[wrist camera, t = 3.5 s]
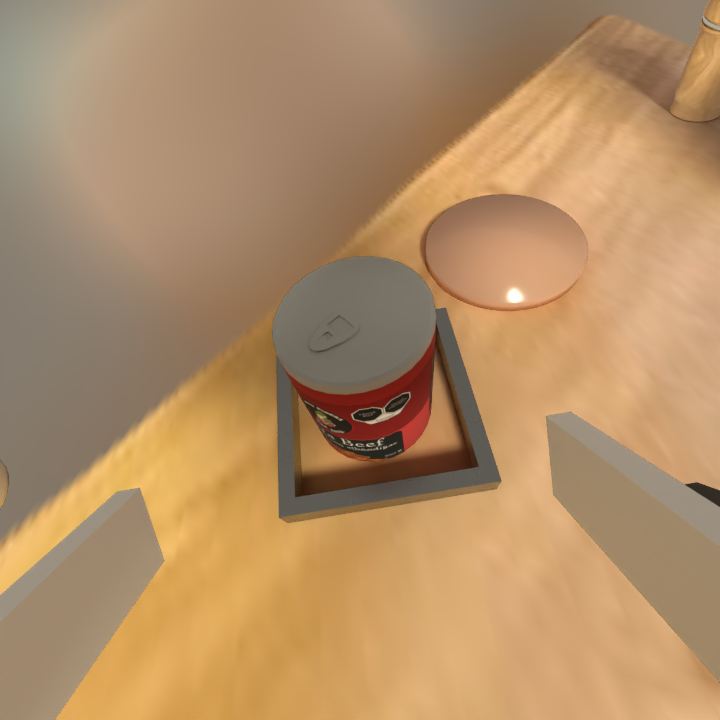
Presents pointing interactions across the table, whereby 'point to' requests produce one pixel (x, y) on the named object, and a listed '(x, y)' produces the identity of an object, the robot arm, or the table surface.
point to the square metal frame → (395, 491)
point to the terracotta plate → (506, 252)
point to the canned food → (361, 353)
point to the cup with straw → (701, 72)
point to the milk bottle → (3, 483)
